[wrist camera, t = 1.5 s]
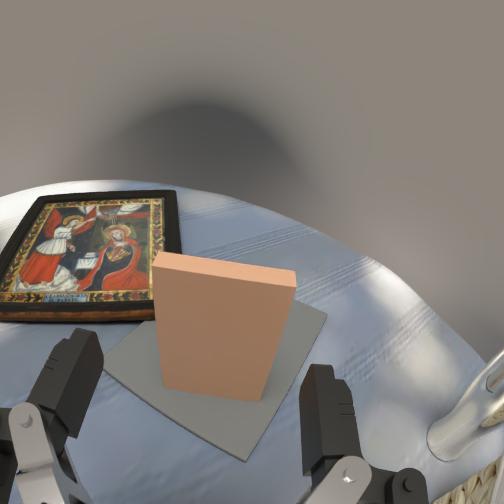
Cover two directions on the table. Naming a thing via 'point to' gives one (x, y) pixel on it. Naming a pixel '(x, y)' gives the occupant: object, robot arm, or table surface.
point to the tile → (218, 323)
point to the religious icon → (87, 256)
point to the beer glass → (471, 413)
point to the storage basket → (479, 487)
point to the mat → (210, 407)
